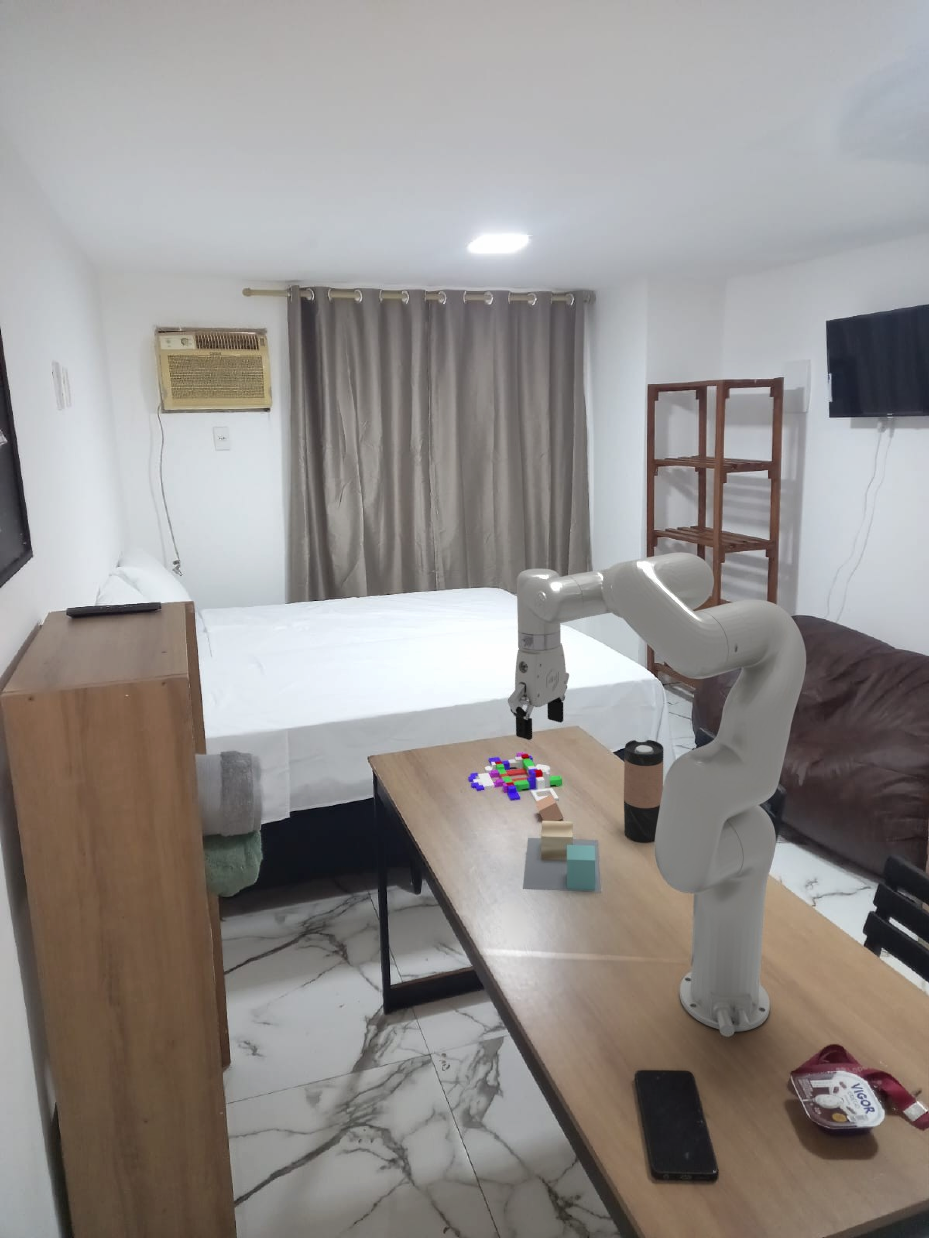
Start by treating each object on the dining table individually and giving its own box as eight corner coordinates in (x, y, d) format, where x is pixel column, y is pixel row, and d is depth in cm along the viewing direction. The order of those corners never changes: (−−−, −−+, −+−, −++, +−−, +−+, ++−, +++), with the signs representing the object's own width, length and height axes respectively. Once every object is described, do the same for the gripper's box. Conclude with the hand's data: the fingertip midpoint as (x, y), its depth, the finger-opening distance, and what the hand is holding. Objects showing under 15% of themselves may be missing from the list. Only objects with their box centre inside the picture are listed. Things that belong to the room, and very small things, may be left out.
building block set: (461, 765, 202) (460, 748, 201) (540, 756, 205) (540, 739, 204) (482, 812, 178) (481, 793, 177) (571, 800, 182) (571, 782, 180)
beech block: (572, 860, 155) (572, 837, 154) (541, 859, 156) (541, 836, 154) (572, 844, 161) (572, 821, 159) (542, 843, 161) (542, 820, 160)
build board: (600, 896, 145) (600, 891, 145) (522, 893, 147) (522, 888, 147) (598, 844, 162) (598, 839, 162) (528, 842, 164) (528, 837, 164)
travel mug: (646, 852, 159) (648, 758, 154) (615, 838, 164) (616, 746, 159) (669, 837, 163) (672, 746, 158) (638, 824, 169) (640, 735, 164)
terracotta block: (542, 816, 174) (546, 826, 170) (535, 802, 173) (538, 811, 169) (559, 808, 174) (563, 817, 170) (552, 793, 173) (555, 802, 169)
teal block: (595, 889, 145) (595, 860, 144) (567, 888, 146) (566, 859, 144) (594, 874, 150) (594, 845, 149) (567, 873, 151) (567, 844, 149)
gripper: (527, 655, 134) (528, 750, 139) (583, 631, 147) (583, 718, 151) (492, 647, 139) (494, 739, 143) (549, 624, 151) (550, 710, 156)
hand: (540, 728), depth 147 cm, fingers open, 9 cm apart
